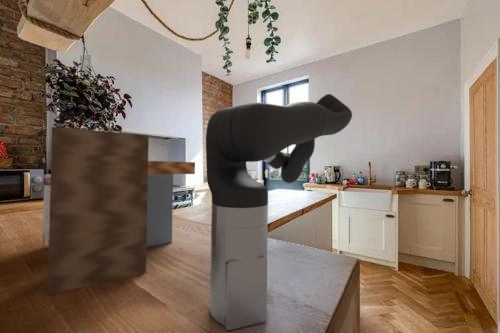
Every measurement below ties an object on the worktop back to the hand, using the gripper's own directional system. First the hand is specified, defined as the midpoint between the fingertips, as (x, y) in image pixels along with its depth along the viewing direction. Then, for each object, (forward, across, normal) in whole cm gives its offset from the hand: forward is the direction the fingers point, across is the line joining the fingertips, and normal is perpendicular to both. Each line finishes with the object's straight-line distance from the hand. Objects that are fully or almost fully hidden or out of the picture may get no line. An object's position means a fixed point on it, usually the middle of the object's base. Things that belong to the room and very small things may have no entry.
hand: (231, 122), depth 77 cm
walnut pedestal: (+12, +10, +52) cm, 54 cm away
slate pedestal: (+4, -8, +47) cm, 48 cm away
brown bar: (+11, -8, +27) cm, 30 cm away
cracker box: (+18, -14, +56) cm, 60 cm away
